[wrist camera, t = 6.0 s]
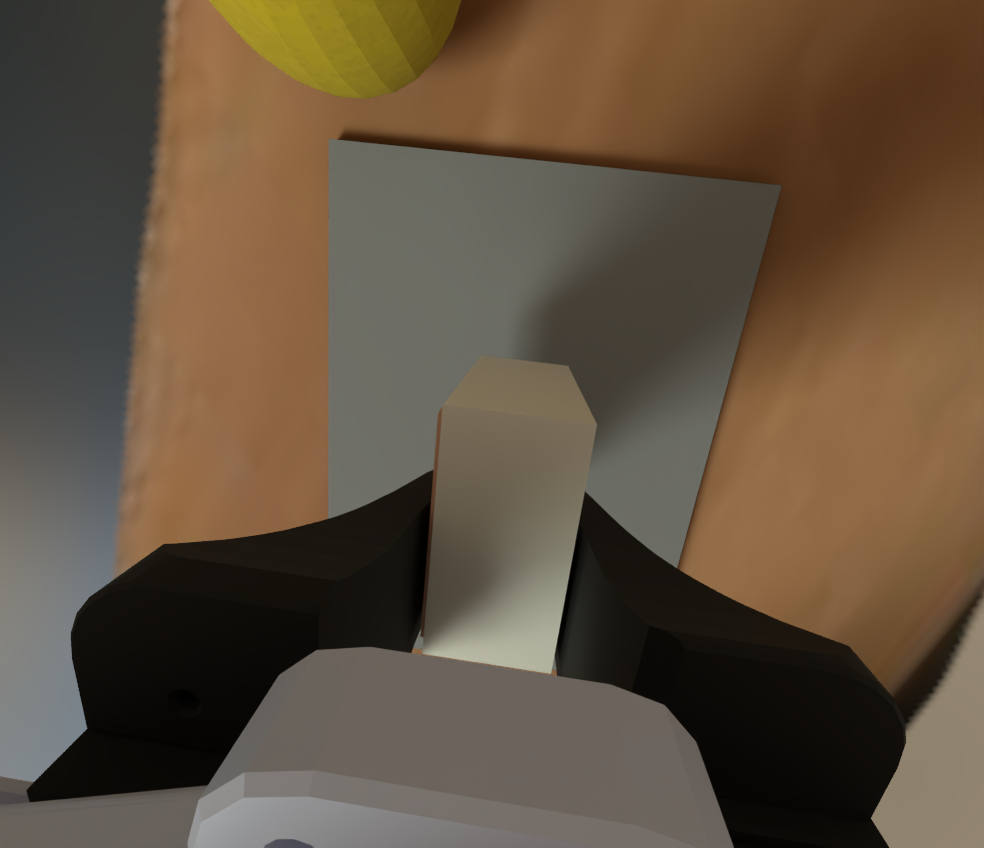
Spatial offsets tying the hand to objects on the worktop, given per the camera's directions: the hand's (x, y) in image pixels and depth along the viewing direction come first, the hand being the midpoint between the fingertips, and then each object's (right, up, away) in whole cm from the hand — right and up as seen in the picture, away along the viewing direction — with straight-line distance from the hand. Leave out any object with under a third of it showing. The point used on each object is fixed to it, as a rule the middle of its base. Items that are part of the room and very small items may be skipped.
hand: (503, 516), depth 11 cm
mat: (0, +1, +5) cm, 5 cm away
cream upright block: (0, +2, +2) cm, 3 cm away
